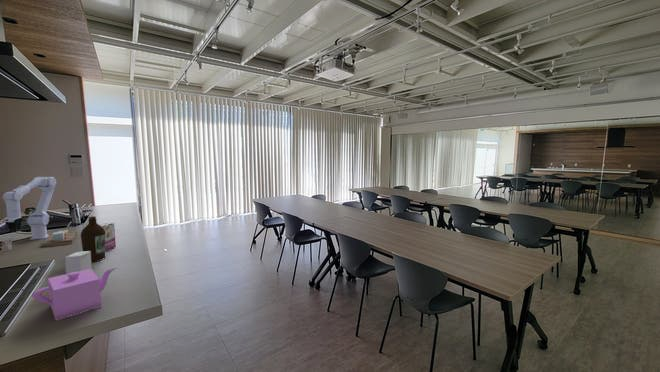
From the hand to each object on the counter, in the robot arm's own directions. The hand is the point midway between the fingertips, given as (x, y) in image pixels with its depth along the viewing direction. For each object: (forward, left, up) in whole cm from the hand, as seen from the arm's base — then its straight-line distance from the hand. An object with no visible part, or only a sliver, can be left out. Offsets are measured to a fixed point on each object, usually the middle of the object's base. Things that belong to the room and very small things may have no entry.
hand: (15, 230), depth 176 cm
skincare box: (+94, +39, -10) cm, 102 cm away
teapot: (+117, +41, -10) cm, 125 cm away
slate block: (+8, +21, -8) cm, 24 cm away
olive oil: (+58, +42, -10) cm, 72 cm away
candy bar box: (+41, +46, -10) cm, 62 cm away
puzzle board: (+2, +21, -9) cm, 23 cm away
